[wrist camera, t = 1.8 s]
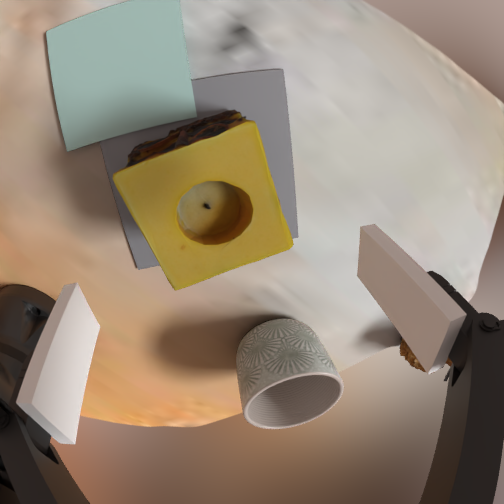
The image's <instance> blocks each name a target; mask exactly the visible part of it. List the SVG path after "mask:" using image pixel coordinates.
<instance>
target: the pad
mask: <svg viewBox="0 0 504 504" xmlns="http://www.w3.org/2000/svg"><path fill="white" fill-rule="evenodd" d="M46 36H47V46H48V55H49V62H50V70H51V76H52V83H53V89H54V94H55V100H56V105H57V110H58V115H59V120H60V124H61V129H62V133H63V137H64V141H65V145H66V149H67V152H69V151H71V150H74V149H77V148H80V147H83V146H86V145H89V144H92V143H96V142H99V141H102V140H105V139H109V138H112V137H115V136H119V135H122V134H126V133H130V132H133V131H137V130H141V129H145V128H149V127H153V126H157V125H162V124H166V123H170V122H175V121H180V120H184V119H189V118H194V117H197V113H196V107H195V101H194V95H193V89H192V83H191V76H190V70H189V63H188V57H187V50H186V43H185V37H184V30H183V23H182V15H181V8H180V0H131V1H127V2H123V3H120V4H117V5H113V6H110V7H107V8H104V9H101V10H98V11H95V12H92V13H90V14H87V15H84V16H82V17H79V18H76V19H74V20H71V21H69V22H67V23H64V24H62V25H60V26H57V27H55V28H53V29H51V30H48V31H46Z"/></svg>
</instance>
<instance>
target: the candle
mask: <svg viewBox="0 0 504 504" xmlns="http://www.w3.org/2000/svg"><path fill="white" fill-rule="evenodd" d="M113 181H114V183H115V185H116V187H117V189H118V191H119V193H120V195H121V196H122V198H123V200H124V202H125V204H126V205H127V207H128V209H129V211H130V213H131V215H132V217H133V218H134V220H135V222H136V223H137V225H138V227H139V228H140V230H141V232H142V234H143V236H144V237H145V239H146V241H147V243H148V245H149V246H150V248H151V250H152V252H153V254H154V255H155V257H156V259H157V261H158V262H159V264H160V266H161V268H162V269H163V271H164V273H165V275H166V277H167V279H168V281H169V283H170V284H171V285H172V287H173V288H174V290H179V289H182V288H185V287H188V286H191V285H193V284H196V283H198V282H201V281H204V280H206V279H209V278H211V277H214V276H216V275H219V274H221V273H224V272H227V271H229V270H232V269H235V268H238V267H240V266H243V265H246V264H249V263H252V262H256V261H259V260H261V259H264V258H266V257H269V256H272V255H275V254H278V253H280V252H283V251H286V250H289V249H290V248H291V247H292V246H293V245H294V244H293V240H292V236H291V233H290V230H289V227H288V225H287V222H286V220H285V217H284V215H283V213H282V210H281V205H280V200H279V198H278V195H277V192H276V189H275V186H274V182H273V179H272V175H271V173H270V170H269V167H268V163H267V159H266V154H265V150H264V147H263V143H262V139H261V136H260V132H259V130H258V127H257V125H256V123H255V121H253V120H247V119H246V116H244V117H242V115H241V113H240V112H237V111H236V110H228V111H225V112H222V113H220V114H217V115H213V116H210V117H206V118H203V119H200V120H197V121H194V122H192V123H190V124H187V125H183V126H181V127H178V128H176V130H170V132H169V134H168V136H167V137H165V138H161V139H156V140H154V141H145V142H144V143H141V144H139V145H137V146H135V147H134V148H133V150H132V151H131V153H130V154H129V155H128V163H127V165H126V166H125V168H122V169H120V170H119V171H117V172H115V173H114V174H113Z"/></svg>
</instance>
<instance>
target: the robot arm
mask: <svg viewBox="0 0 504 504" xmlns="http://www.w3.org/2000/svg"><path fill="white" fill-rule="evenodd" d="M357 276H358V278H359V279H360V280H361V281H362V283H363V284H364V285H365V287H366V288H367V289H368V291H369V292H370V293H371V295H372V296H373V297H374V299H375V300H376V301H377V303H378V304H379V305H380V307H381V308H382V310H383V311H384V312H385V314H386V315H387V316H388V318H389V319H390V321H391V322H392V323H393V325H394V326H395V327H396V329H397V330H398V332H399V333H400V335H401V336H402V337H403V339H404V340H405V342H406V343H407V345H408V346H409V347H410V349H411V350H412V352H413V353H414V355H415V356H416V358H417V359H418V361H419V362H420V364H421V365H422V367H423V368H424V370H425V371H426V373H427V374H430V373H432V372H435V371H437V370H439V369H440V368H443V367H444V365H445V363H446V361H447V358H448V357H449V359H450V360H451V361H452V365H451V367H450V369H449V371H448V373H447V375H446V376H445V379H444V381H447V379H448V377H449V382H448V389H447V396H446V402H445V408H444V414H443V419H442V424H441V429H440V433H439V438H438V442H437V446H436V450H435V454H434V458H433V462H432V465H431V469H430V472H429V476H428V479H427V482H426V486H425V488H424V492H423V494H422V497H421V500H420V503H419V504H493V500H494V496H495V491H496V486H497V481H498V476H499V470H500V463H501V456H502V448H503V440H504V320H500V321H499V320H498V318H496V317H495V316H494V315H492V314H489V313H478V312H477V311H476V310H475V309H474V308H473V307H472V306H471V305H470V304H469V303H468V302H467V301H466V300H465V299H464V298H463V297H462V295H461V294H460V293H459V292H456V289H455V288H454V287H453V286H452V285H451V286H450V283H449V282H448V281H447V280H446V279H444V278H443V277H442V276H441V275H439V274H437V273H435V272H433V271H429V272H426V271H425V270H424V269H423V268H422V267H421V266H419V265H418V264H417V263H416V262H415V261H414V260H413V259H412V258H411V257H410V256H409V255H408V254H407V253H406V252H405V251H404V250H403V249H402V248H401V247H399V246H398V245H397V244H396V243H395V242H394V241H393V240H392V239H391V238H390V237H389V236H387V235H386V234H385V233H384V232H383V231H382V230H381V229H380V228H379V227H377V226H376V225H375V224H372V225H367V226H362V227H360V245H359V260H358V273H357ZM99 329H100V326H99V324H98V322H97V320H96V318H95V316H94V314H93V313H92V311H91V309H90V307H89V305H88V303H87V301H86V299H85V297H84V295H83V293H82V291H81V289H80V287H79V285H78V283H73V284H68V285H64V287H63V289H62V291H61V293H60V295H59V297H58V299H57V301H54V300H53V299H52V298H50V297H49V296H47V295H46V294H44V293H42V292H40V291H38V290H36V289H33V288H30V287H27V286H21V285H10V286H6V287H4V288H2V289H0V504H90V503H89V502H88V500H87V499H86V498H85V496H84V494H83V493H82V492H81V490H80V489H79V487H78V486H77V484H76V482H75V481H74V479H73V478H72V476H71V475H70V473H69V471H68V470H67V468H66V467H65V465H64V463H63V462H62V460H61V458H60V457H59V455H58V453H57V451H56V449H55V448H54V447H53V445H52V444H51V443H50V439H51V436H52V437H53V438H54V439H55V440H56V441H58V442H59V443H64V444H75V442H76V435H77V428H78V422H79V417H80V411H81V406H82V401H83V396H84V391H85V386H86V382H87V377H88V373H89V368H90V364H91V360H92V356H93V352H94V348H95V344H96V340H97V336H98V333H99Z"/></svg>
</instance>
